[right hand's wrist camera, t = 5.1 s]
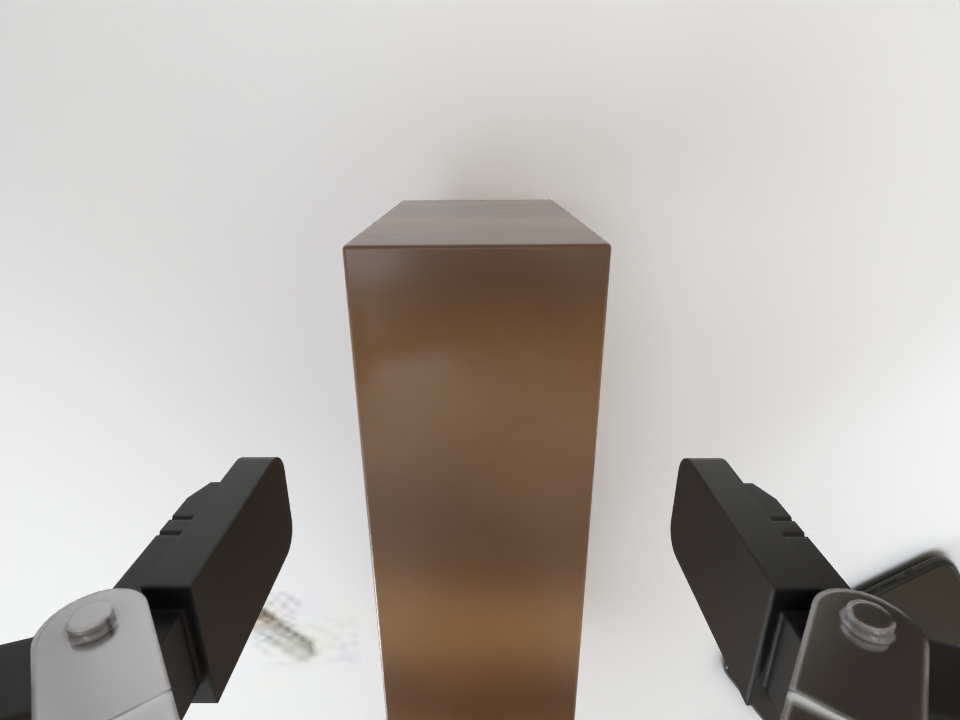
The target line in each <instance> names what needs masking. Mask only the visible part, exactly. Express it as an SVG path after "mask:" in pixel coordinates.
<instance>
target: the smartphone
mask: <svg viewBox="0 0 960 720" xmlns="http://www.w3.org/2000/svg"><path fill="white" fill-rule="evenodd" d="M861 592H864V593H867V594H870V595H873V596H875V597H878V598H880V599H882V600H884V601H886V602H888V603H890V604H892V605H893V606H895V607H896V608H898V609H900V610H901V611H902V612H904V613H905V614H906V615H908V616H909V617H910V618H911V619H912V620H913V621H914V622H915V623H916V624H917V625H918V626H919V627H920V629H921V630H922V631H923V633H924V634H925V636H926V638H929V639H932V640H936V641H941V642H945V643H949V644H953V645H958V646H960V573H959V571H958V569H957V567H956V566H955V564H954V563H953V562H952V561H951V560H949V559H947V558H945V557H941V556H937V557H932V558H929V559H927V560H924V561H922V562H920V563H918V564H916V565H914V566H912V567H910V568H908V569H906V570H904V571H902V572H900V573H897V574H895V575H893V576H891V577H889V578H887V579H885V580H883V581H881V582H879V583H877V584H875V585H873V586H871V587H869V588H866V589H864V590H862V591H861ZM723 668H724V671H725V673H726V675H727V676H728V677H729V678H730V680H731V681H732V682H733V684H734V685H735V686H736V687H737V685H736V682H735V680H734V678H733V676H732V674H731V672H730V670H729V668H728V666H727V663H726V661H725V660H724V663H723ZM737 689H738V687H737ZM738 690H739V689H738ZM751 706H752V707H753V709H754V710H755V711H756V712H757V714H758V715H759V716H760V717H761V719H762V720H780V717H779V715H778V713H777V711H776V709H775V707H774V705H751Z"/></svg>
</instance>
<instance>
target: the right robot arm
mask: <svg viewBox="0 0 960 720" xmlns="http://www.w3.org/2000/svg"><path fill="white" fill-rule="evenodd" d="M172 517H173V518H172V520H169V521H168V522H167V523H166V525H165V526H164V527H163V528H162V529H161V531H160V535H157V536H156V537H155V538H154V539H153V540H152V542H151V543H150V544H149V545H148V546H147V548H146V549H145V550H144V551H143V552H142V554H141V555H140V556H139V557H138V559H137V560H136V561H135V562H134V563H133V565H132V566H131V567H130V568H129V569H128V571H127V572H126V573H125V574H124V575H123V577H122V578H121V579H120V580H119V582H118V583H117V584H116V585H115V586H114V588H113V589H108V590H103V591H99V592H96V593H93V594H90V595H87V596H85V597H82V598H80V599H78V600H76V601H74V602H72V603H70V604H68V605H67V606H65V607H64V608H62V609H60V610H59V611H58V612H56V613H55V614H54V615H52V616H51V617H50V618H49V619H48V620H47V621H46V622H45V623H44V624H43V625H42V626H41V627H40V629H39V630H38V631H37V633H36V634H35V636H34V637H32V638H28V639H24V640H20V641H15V642H11V643H7V644H3V645H0V720H182V719H183V717H184V716H185V714H186V712H187V710H188V708H189V706H190V704H191V703H218V702H219V700H220V698H221V695H222V693H223V691H224V689H225V687H226V685H227V683H228V680H229V678H230V676H231V674H232V672H233V670H234V668H235V666H236V663H237V661H238V659H239V657H240V655H241V653H242V651H243V648H244V646H245V644H246V642H247V640H248V638H249V636H250V634H251V631H252V629H253V627H254V625H255V623H256V621H257V619H258V616H259V614H260V612H261V610H262V608H263V606H264V604H265V601H266V599H267V597H268V595H269V593H270V591H271V589H272V587H273V584H274V582H275V580H276V578H277V576H278V574H279V572H280V569H281V567H282V565H283V563H284V561H285V559H286V557H287V554H288V552H289V549H290V544H291V539H292V518H291V511H290V504H289V498H288V491H287V484H286V477H285V470H284V465H283V462H282V460H281V459H280V458H278V457H241V458H239V459H238V460H237V461H236V462H235V463H234V465H233V466H232V467H231V469H230V470H229V471H228V473H227V474H226V475H225V477H224V478H223V479H222V480H221V482H211V483H209V484H208V485H206V486H205V487H203V488H202V489H200V490H199V491H197V492H196V493H194V494H193V495H191V496H190V497H188V498H187V499H186V500H185V502H184V503H183V504H182V505H181V506H180V508H179V509H178V510H177V511H176V512H175V514H174V515H173V516H172ZM671 541H672V546H673V550H674V553H675V556H676V558H677V560H678V562H679V564H680V566H681V569H682V571H683V573H684V575H685V577H686V579H687V581H688V583H689V585H690V587H691V590H692V592H693V594H694V596H695V598H696V600H697V602H698V604H699V606H700V609H701V611H702V613H703V615H704V617H705V619H706V621H707V623H708V625H709V628H710V630H711V632H712V634H713V636H714V638H715V640H716V642H717V644H718V647H719V649H720V651H721V653H722V655H723V657H724V659H725V661H726V663H727V666H728V668H729V670H730V672H731V674H732V676H733V678H734V680H735V682H736V685H737V687H738V689H739V691H740V693H741V695H742V697H743V699H744V701H745V703H746V705H774V707H775V709H776V711H777V713H778V715H779V717H780V720H960V646H958V645H953V644H949V643H945V642H941V641H936V640H932V639H929V638H926V636H925V634H924V633H923V631H922V630H921V629H920V627H919V626H918V625H917V624H916V623H915V622H914V621H913V620H912V619H911V618H910V617H909V616H908V615H906V614H905V613H904V612H902V611H901V610H900V609H898V608H896V607H895V606H893V605H892V604H890V603H888V602H886V601H884V600H882V599H880V598H878V597H875V596H873V595H870V594H867V593H864V592H861V591H857V590H852V589H851V588H850V587H849V586H848V585H847V584H846V582H845V581H844V580H843V579H842V578H841V576H840V575H839V574H838V573H837V572H836V570H835V569H834V568H833V567H832V566H831V564H830V563H829V562H828V561H827V560H826V558H825V557H824V556H823V555H822V554H821V552H820V551H819V550H818V549H817V548H816V546H815V545H814V544H813V543H812V542H811V540H810V539H809V538H808V537H805V536H804V532H803V531H802V530H801V528H800V527H799V526H798V525H797V524H796V522H795V521H792V520H791V516H790V515H789V514H788V513H787V512H786V510H785V509H784V508H783V507H782V506H781V504H780V503H779V502H778V501H777V500H776V499H775V498H774V497H772V496H771V495H769V494H768V493H766V492H765V491H763V490H762V489H760V488H759V487H757V486H756V485H754V484H753V483H743V482H742V481H741V480H740V478H739V477H738V476H737V474H736V473H735V472H734V470H733V469H732V468H731V467H730V465H729V464H728V463H727V462H726V461H725V460H724V459H722V458H685V459H683V460H682V461H681V463H680V466H679V471H678V478H677V485H676V491H675V498H674V505H673V512H672V518H671Z"/></svg>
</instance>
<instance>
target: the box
mask: <svg viewBox="0 0 960 720" xmlns="http://www.w3.org/2000/svg"><path fill="white" fill-rule="evenodd" d="M610 257H611V246H610V244H609V243H607V242H606V241H605V240H604V239H602V238H601V237H600V236H598V235H597V234H596V233H594V232H593V231H592V230H590V229H589V228H588V227H586V226H585V225H584V224H583V223H581V222H580V221H579V220H577V219H576V218H575V217H573V216H572V215H571V214H569V213H568V212H567V211H566V210H564V209H563V208H562V207H560V206H559V205H558V204H556V203H555V202H554V201H552V200H444V201H402V202H401V203H400V204H398V205H397V206H396V207H394V208H393V209H392V210H390V211H389V212H388V213H386V214H385V215H384V216H383V217H381V218H380V219H379V220H377V221H376V222H375V223H373V224H372V225H371V226H369V227H368V228H367V229H366V230H364V231H363V232H362V233H360V234H359V235H358V236H356V237H355V238H354V239H352V240H351V241H350V242H349V243H347V244H346V245H345V246H344V247H343V259H344V270H345V281H346V291H347V302H348V313H349V323H350V334H351V345H352V355H353V366H354V377H355V388H356V398H357V409H358V420H359V430H360V441H361V452H362V462H363V473H364V484H365V494H366V505H367V516H368V526H369V537H370V548H371V558H372V569H373V580H374V590H375V601H376V612H377V623H378V633H379V644H380V655H381V665H382V676H383V687H384V697H385V708H386V719H387V720H574V719H575V706H576V694H577V681H578V668H579V655H580V642H581V629H582V616H583V604H584V591H585V578H586V565H587V552H588V539H589V526H590V514H591V501H592V488H593V475H594V462H595V449H596V436H597V424H598V411H599V398H600V385H601V372H602V359H603V346H604V334H605V321H606V308H607V295H608V282H609V269H610Z"/></svg>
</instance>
